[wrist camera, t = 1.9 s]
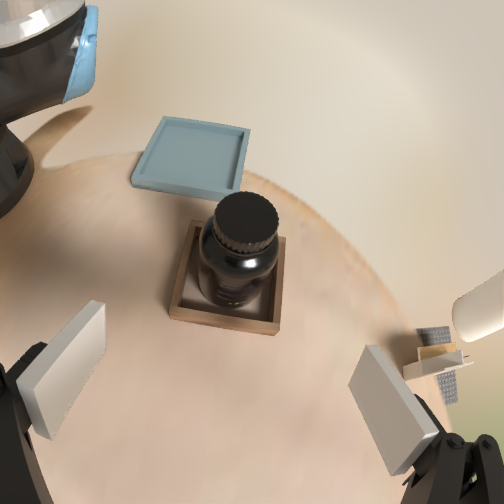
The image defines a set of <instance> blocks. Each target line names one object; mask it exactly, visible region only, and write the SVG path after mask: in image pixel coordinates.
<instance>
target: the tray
mask: <svg viewBox="0 0 504 504" xmlns="http://www.w3.org/2000/svg"><path fill="white" fill-rule="evenodd" d="M249 135H250V129H246V128H240V127H235V126H229V125H224V124H218V123H212V122H205V121H199V120H191V119H184V118H176V117H167V116H163V118H162V120H161V122H160V123H159V125H158V127H157V129H156V130H155V132H154V134H153V136H152V138H151V140H150V141H149V143H148V145H147V147H146V149H145V151H144V153H143V155H142V157H141V159H140V161H139V163H138V165H137V167H136V169H135V171H134V173H133V175H132V177H131V181H132V186H133V187H134V188H140V189H147V190H153V191H159V192H166V193H172V194H178V195H184V196H189V197H195V198H201V199H207V200H212V201H218V202H220V201H221V200H222V199H224V197H225V196H228V195H229V194H233V193H234V192H239V188H240V183H241V177H242V172H243V166H244V161H245V155H246V151H247V145H248V140H249Z"/></svg>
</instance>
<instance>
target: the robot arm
mask: <svg viewBox="0 0 504 504" xmlns="http://www.w3.org/2000/svg"><path fill="white" fill-rule="evenodd" d="M97 26H98V7H97V6H91V5H87V6H86V7H85V0H0V218H1V217H2V216H3V215H5V214H6V213H7V212H8V211H9V210H10V209H11V208H12V207H13V206H14V205H15V204H16V203H17V202H18V201H19V200H20V198H21V197H22V196H23V194H24V193H25V191H26V189H27V188H28V186H29V184H30V182H31V179H32V176H33V172H34V162H33V159H32V157H31V154H30V152H29V150H28V148H27V147H26V146H25V145H24V144H23V143H22V142H21V141H20V140H19V139H18V138H17V137H16V136H15V135H14V134H13V133H12V132H11V131H10V130H9V129H8V128H7V125H6V124H8V123H10V122H13V121H15V120H17V119H20V118H22V117H25V116H27V115H30V114H33V113H35V112H38V111H41V110H43V109H46V108H49V107H52V106H55V105H58V104H63V103H65V102H66V101H68V100H70V99H73V98H76V97H80V96H82V95H84V94H86V93H88V92H89V91H90V89H91V88H92V86H93V85H94V81H95V65H96V37H97ZM105 351H106V331H105V303H102V302H98V301H94V300H91V301H90V302H89V303H88V304H87V305H86V306H85V307H84V308H83V309H82V310H81V311H80V312H79V313H78V314H77V315H76V316H75V317H74V318H73V319H72V320H71V321H70V322H69V323H68V324H67V325H66V326H65V327H64V328H63V329H62V330H61V331H60V332H59V333H58V334H57V335H56V337H55V338H54V339H53V340H52V341H51V342H50V343H49V344H46V343H43V342H39V343H37V344H35V345H33V346H31V347H30V348H29V349H28V350H27V352H26V353H25V355H23V356H22V357H21V358H20V360H18V361H17V362H16V363H15V364H14V365H13V366H12V367H11V369H10V370H9V371H8V372H7V373H5V370H4V367H3V365H2V364H1V363H0V504H54V503H53V501H52V498H51V496H50V494H49V491H48V489H47V486H46V484H45V481H44V478H43V476H42V473H41V470H40V467H39V464H38V461H37V458H36V455H35V452H34V449H33V445H32V442H31V438H30V435H29V432H28V429H29V427H30V426H31V424H32V426H33V428H34V430H35V433H36V434H39V435H41V436H43V437H45V438H47V439H49V440H51V441H52V440H53V438H54V436H55V434H56V433H57V431H58V429H59V427H60V425H61V424H62V422H63V420H64V418H65V417H66V415H67V413H68V411H69V410H70V408H71V406H72V405H73V403H74V401H75V399H76V398H77V396H78V394H79V393H80V391H81V389H82V388H83V386H84V385H85V383H86V381H87V380H88V378H89V376H90V375H91V373H92V372H93V370H94V368H95V367H96V365H97V364H98V362H99V360H100V359H101V357H102V356H103V354H104V353H105ZM348 386H349V388H350V390H351V392H352V395H353V397H354V399H355V401H356V403H357V405H358V407H359V409H360V411H361V413H362V415H363V417H364V420H365V422H366V424H367V426H368V428H369V430H370V432H371V434H372V436H373V439H374V441H375V443H376V445H377V447H378V449H379V451H380V454H381V456H382V458H383V460H384V462H385V464H386V467H387V469H388V471H389V473H390V475H391V476H396V475H400V474H404V473H406V472H407V471H408V469H409V468H410V467H411V466H412V465H413V467H414V469H415V471H414V472H413V473H412V474H411V475H410V476H409V477H408V478H407V479H406V480H405V481H404V483H403V484H402V485H403V486H404V485H405V484H406V483H407V482H408V485H407V488H406V491H405V493H404V496H403V499H402V501H401V504H504V465H503V460H502V457H501V453H500V450H499V446H498V443H497V441H496V440H495V439H494V438H493V437H491V436H490V435H486V434H482V435H480V436H479V437H478V439H477V440H476V441H475V442H474V443H473V442H465V441H464V439H463V438H462V437H461V436H459V435H457V434H455V433H447V432H446V431H445V430H444V428H443V427H442V425H441V424H440V422H439V421H438V420H437V418H436V417H435V415H434V414H433V413H432V411H431V410H430V409H429V407H428V406H427V404H426V403H425V401H424V400H423V399H422V398H420V397H419V396H418V395H416V394H413V393H412V391H411V390H410V389H409V387H408V386H407V384H406V383H405V382H404V380H403V379H402V377H401V376H400V375H399V373H398V372H397V371H396V369H395V368H394V367H393V365H392V364H391V362H390V361H389V360H388V358H387V357H386V356H385V354H384V353H383V352H382V350H381V349H380V348H379V346H378V345H366V346H365V348H364V350H363V353H362V355H361V357H360V360H359V362H358V364H357V367H356V369H355V371H354V373H353V375H352V378H351V380H350V382H349V384H348ZM475 475H477V480H476V481H475V482H472V478H473V477H474V476H475Z"/></svg>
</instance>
